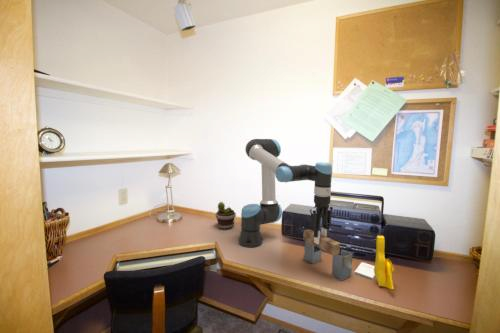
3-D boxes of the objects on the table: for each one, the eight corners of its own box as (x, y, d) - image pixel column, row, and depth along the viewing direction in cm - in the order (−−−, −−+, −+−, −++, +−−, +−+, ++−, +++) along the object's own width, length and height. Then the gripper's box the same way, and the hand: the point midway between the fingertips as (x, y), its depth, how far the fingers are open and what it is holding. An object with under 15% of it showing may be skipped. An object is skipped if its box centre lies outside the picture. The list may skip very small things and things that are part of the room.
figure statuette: (398, 298, 96) (402, 246, 94) (376, 294, 99) (380, 243, 96) (387, 275, 113) (391, 231, 110) (369, 271, 115) (372, 228, 113)
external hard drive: (354, 274, 114) (361, 264, 123) (372, 281, 108) (378, 270, 118) (354, 271, 114) (361, 261, 123) (372, 277, 108) (378, 267, 118)
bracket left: (304, 259, 127) (305, 239, 125) (313, 256, 131) (313, 237, 129) (312, 264, 122) (313, 243, 121) (321, 260, 126) (322, 240, 125)
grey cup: (331, 275, 112) (332, 253, 111) (340, 270, 116) (342, 249, 115) (342, 280, 108) (343, 258, 106) (351, 276, 112) (352, 254, 110)
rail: (303, 240, 121) (303, 230, 120) (308, 238, 123) (309, 229, 123) (333, 255, 105) (334, 244, 104) (339, 253, 107) (340, 243, 107)
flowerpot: (238, 224, 178) (238, 198, 176) (232, 232, 163) (232, 204, 161) (220, 222, 181) (220, 197, 179) (212, 230, 166) (212, 202, 164)
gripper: (315, 199, 104) (313, 249, 106) (340, 194, 113) (338, 241, 115) (303, 195, 110) (301, 243, 113) (327, 191, 119) (325, 236, 122)
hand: (320, 242), depth 114 cm, fingers closed on rail, 4 cm apart
